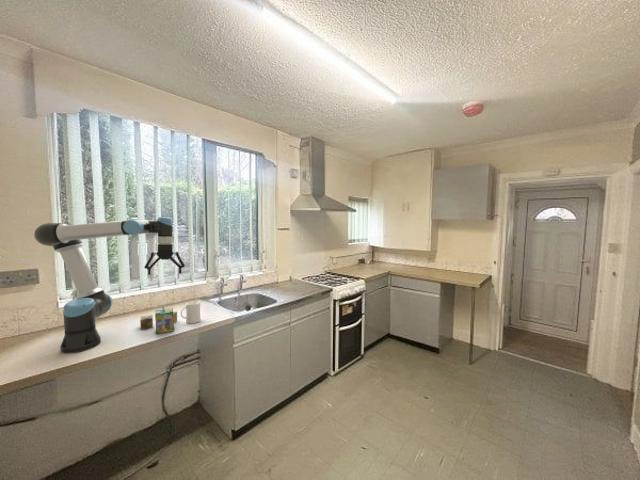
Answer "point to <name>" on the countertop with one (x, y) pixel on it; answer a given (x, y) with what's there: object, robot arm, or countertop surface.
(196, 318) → the mug
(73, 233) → the robot arm
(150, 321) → the walnut block
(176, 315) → the walnut block
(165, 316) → the chalk box
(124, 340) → the countertop surface
